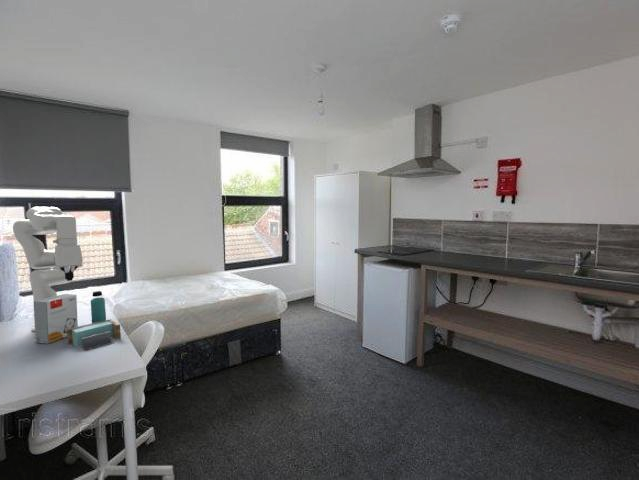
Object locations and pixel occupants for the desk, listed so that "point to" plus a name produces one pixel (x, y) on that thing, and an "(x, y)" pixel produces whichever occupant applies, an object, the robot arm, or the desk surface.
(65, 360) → the desk surface
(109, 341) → the grey bookend
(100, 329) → the mint green box
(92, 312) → the beverage bottle
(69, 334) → the walnut rack
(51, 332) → the hard drive box
